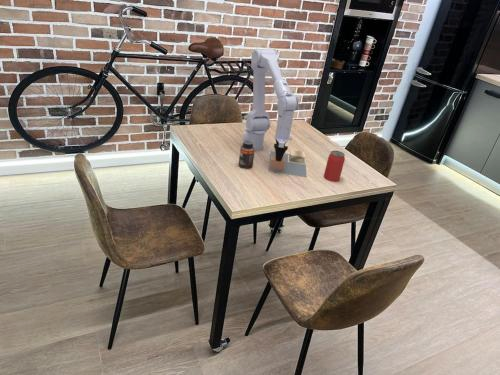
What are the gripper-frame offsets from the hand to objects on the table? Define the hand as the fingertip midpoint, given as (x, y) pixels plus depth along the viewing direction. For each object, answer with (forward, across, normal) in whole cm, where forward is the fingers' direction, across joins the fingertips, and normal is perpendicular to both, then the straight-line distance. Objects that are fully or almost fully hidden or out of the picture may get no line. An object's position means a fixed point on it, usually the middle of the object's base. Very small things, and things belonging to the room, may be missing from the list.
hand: (278, 157), depth 156 cm
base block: (+5, +11, -8) cm, 15 cm away
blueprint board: (+6, +6, -4) cm, 9 cm away
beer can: (+6, -2, -23) cm, 24 cm away
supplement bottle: (+6, -3, +13) cm, 15 cm away
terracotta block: (+5, 0, 0) cm, 5 cm away
